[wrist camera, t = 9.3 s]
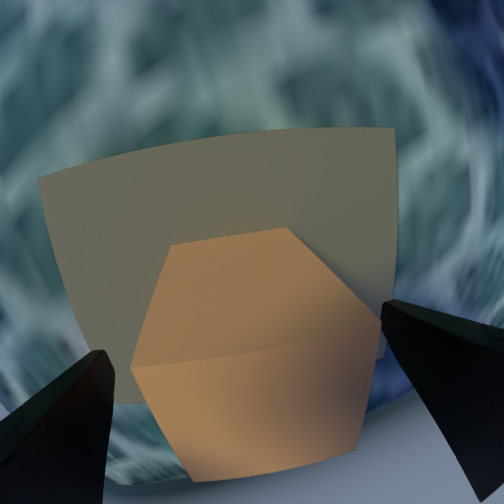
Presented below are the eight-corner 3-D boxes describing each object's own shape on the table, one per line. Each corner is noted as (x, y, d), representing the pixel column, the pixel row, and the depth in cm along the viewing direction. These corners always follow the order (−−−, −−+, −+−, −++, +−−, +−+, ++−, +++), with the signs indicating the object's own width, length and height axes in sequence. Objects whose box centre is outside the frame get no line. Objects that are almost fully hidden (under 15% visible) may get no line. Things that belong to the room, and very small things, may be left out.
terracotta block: (286, 227, 11) (381, 322, 5) (293, 324, 13) (355, 450, 6) (171, 245, 11) (129, 367, 4) (194, 341, 12) (193, 481, 6)
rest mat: (382, 128, 12) (394, 127, 11) (376, 347, 16) (383, 357, 15) (48, 176, 10) (37, 178, 9) (121, 391, 14) (117, 403, 13)
